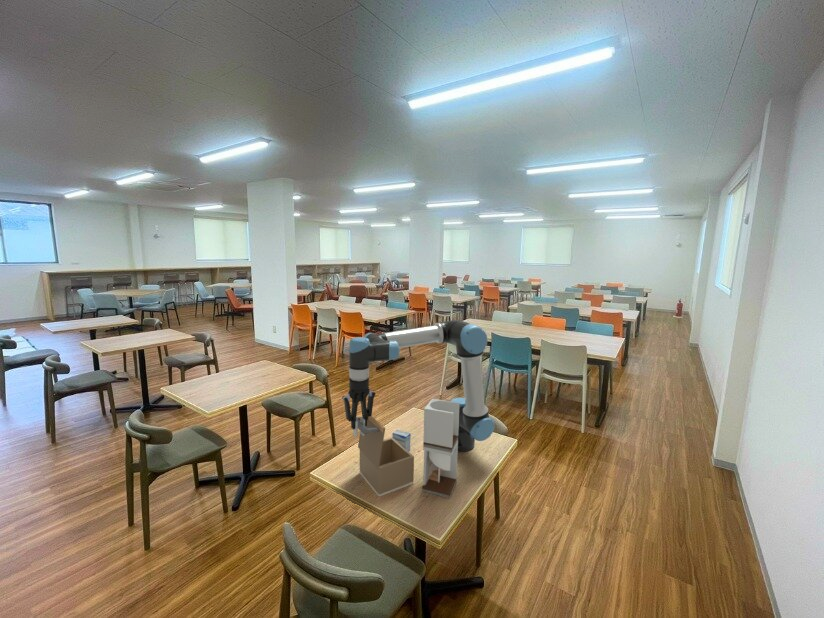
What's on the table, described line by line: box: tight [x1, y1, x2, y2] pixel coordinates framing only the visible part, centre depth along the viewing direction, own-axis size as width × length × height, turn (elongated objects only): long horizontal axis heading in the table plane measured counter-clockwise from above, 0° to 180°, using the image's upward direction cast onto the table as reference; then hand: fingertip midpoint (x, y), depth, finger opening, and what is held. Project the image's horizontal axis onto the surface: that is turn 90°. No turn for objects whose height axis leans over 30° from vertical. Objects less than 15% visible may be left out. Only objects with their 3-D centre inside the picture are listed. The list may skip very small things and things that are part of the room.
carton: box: [359, 437, 415, 498], centre depth 151 cm, size 16×18×12 cm
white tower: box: [421, 398, 459, 499], centre depth 144 cm, size 11×11×35 cm
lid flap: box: [356, 416, 386, 469], centre depth 143 cm, size 16×18×8 cm
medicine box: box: [391, 429, 412, 452], centre depth 173 cm, size 8×4×9 cm, turn 62°
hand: (359, 434), depth 142 cm, fingers closed on lid flap, 2 cm apart
